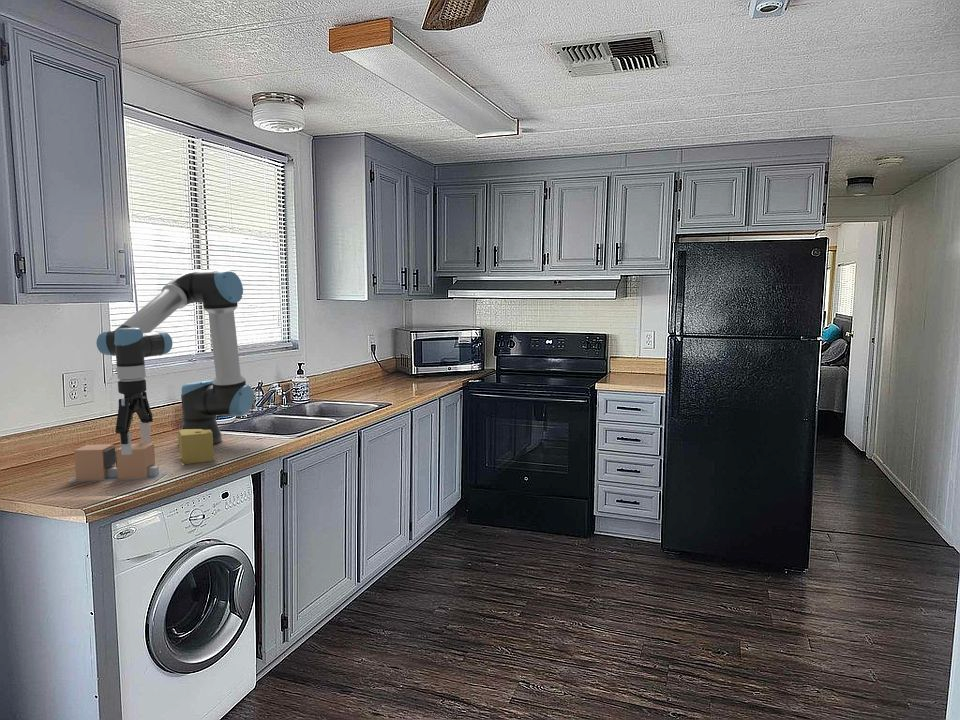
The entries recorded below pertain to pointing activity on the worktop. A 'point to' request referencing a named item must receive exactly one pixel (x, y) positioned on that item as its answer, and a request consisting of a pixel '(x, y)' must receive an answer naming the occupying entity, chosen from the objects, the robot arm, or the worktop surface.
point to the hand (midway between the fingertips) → (136, 448)
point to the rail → (113, 476)
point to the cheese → (196, 445)
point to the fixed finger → (94, 461)
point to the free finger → (135, 461)
